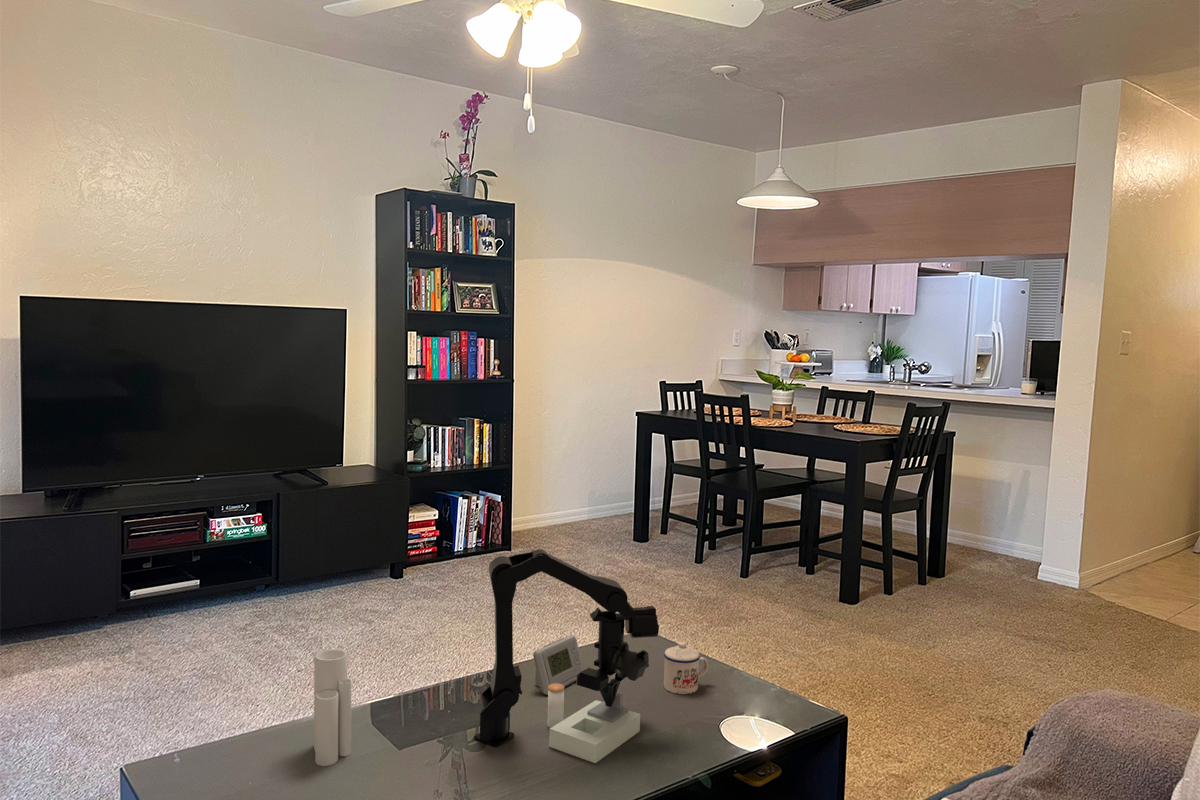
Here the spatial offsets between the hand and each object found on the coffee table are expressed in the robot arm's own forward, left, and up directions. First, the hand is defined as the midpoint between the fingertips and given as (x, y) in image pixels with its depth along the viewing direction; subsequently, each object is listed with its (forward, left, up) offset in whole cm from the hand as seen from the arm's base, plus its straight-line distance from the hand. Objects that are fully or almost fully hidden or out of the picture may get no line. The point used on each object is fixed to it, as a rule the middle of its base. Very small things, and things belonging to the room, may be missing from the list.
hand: (609, 706), depth 192 cm
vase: (-43, +41, -6) cm, 60 cm away
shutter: (0, 0, -2) cm, 2 cm away
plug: (-5, +11, -6) cm, 13 cm away
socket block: (-5, 0, -6) cm, 8 cm away
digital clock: (+14, +24, -6) cm, 28 cm away
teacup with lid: (+32, -3, -6) cm, 32 cm away
